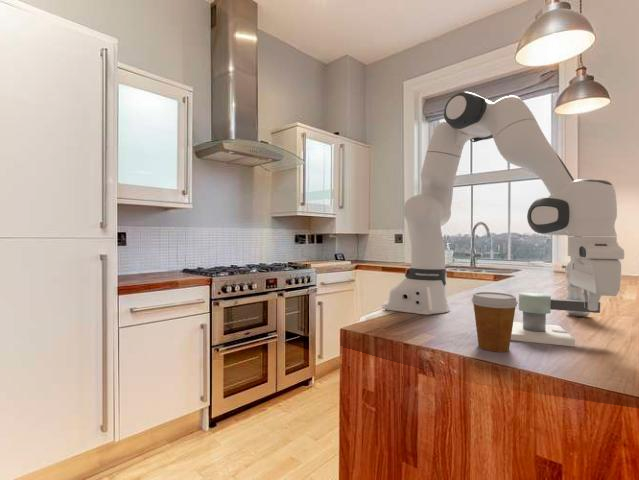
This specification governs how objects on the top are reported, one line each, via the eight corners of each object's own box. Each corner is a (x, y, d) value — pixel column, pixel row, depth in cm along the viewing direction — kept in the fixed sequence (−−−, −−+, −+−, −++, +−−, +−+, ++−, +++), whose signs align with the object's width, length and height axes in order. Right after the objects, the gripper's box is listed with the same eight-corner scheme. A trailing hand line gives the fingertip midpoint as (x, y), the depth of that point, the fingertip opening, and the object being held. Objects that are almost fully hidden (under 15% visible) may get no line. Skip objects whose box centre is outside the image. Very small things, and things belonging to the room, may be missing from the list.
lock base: (506, 339, 86) (506, 315, 86) (500, 325, 99) (500, 304, 99) (575, 346, 81) (575, 320, 81) (559, 331, 94) (559, 308, 94)
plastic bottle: (595, 318, 107) (596, 253, 107) (570, 317, 109) (571, 253, 108) (583, 314, 114) (584, 252, 113) (560, 313, 115) (561, 252, 115)
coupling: (520, 312, 88) (521, 296, 88) (516, 307, 94) (516, 292, 94) (605, 318, 81) (605, 301, 81) (594, 312, 88) (594, 296, 88)
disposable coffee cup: (477, 338, 87) (477, 290, 86) (521, 346, 81) (521, 294, 80) (465, 348, 79) (465, 295, 79) (512, 357, 73) (513, 300, 73)
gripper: (562, 247, 91) (562, 300, 91) (589, 250, 72) (589, 318, 72) (592, 248, 89) (591, 302, 89) (628, 251, 70) (627, 320, 70)
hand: (590, 309), depth 80 cm, fingers closed
